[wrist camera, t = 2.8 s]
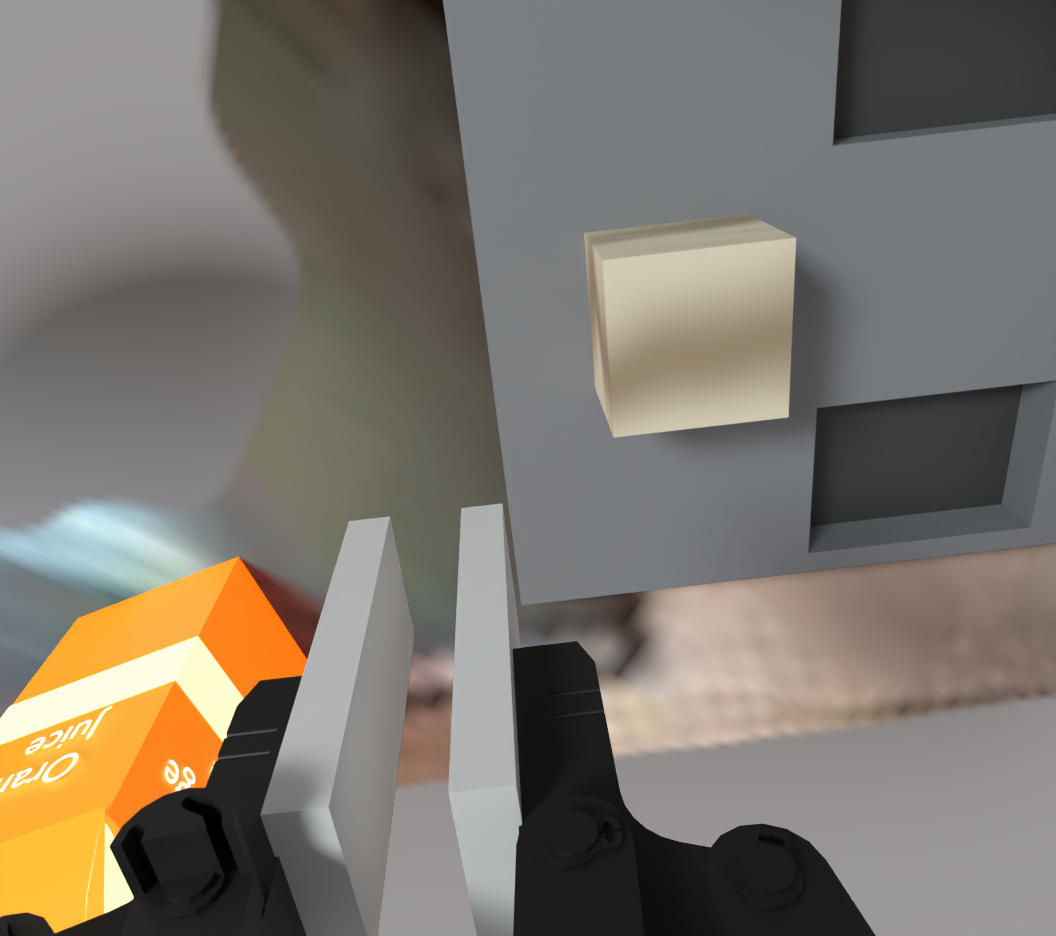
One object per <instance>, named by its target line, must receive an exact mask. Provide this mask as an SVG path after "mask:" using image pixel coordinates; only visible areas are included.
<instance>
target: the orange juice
mask: <svg viewBox="0 0 1056 936" xmlns="http://www.w3.org/2000/svg"><path fill="white" fill-rule="evenodd" d="M306 662H307V659H306V657H305V656H304V654H303V653H302V651H301V650H300V648H299V647H298V645H297V644H296V642H295V641H294V639H293V638H292V636H291V635H290V633H289V632H288V630H287V629H286V627H285V626H284V624H283V623H282V621H281V620H280V618H279V617H278V615H277V614H276V612H275V611H274V609H273V608H272V606H271V605H270V603H269V602H268V600H267V599H266V597H265V596H264V594H263V592H262V591H261V589H260V588H259V586H258V585H257V583H256V582H255V580H254V579H253V577H252V576H251V574H250V573H249V571H248V570H247V568H246V567H245V565H244V564H243V562H242V561H241V559H240V558H239V557H237V558H234V559H231V560H229V561H226V562H224V563H221V564H218V565H216V566H213V567H211V568H208V569H205V570H203V571H200V572H198V573H195V574H192V575H190V576H187V577H185V578H182V579H179V580H177V581H174V582H171V583H169V584H166V585H164V586H161V587H158V588H156V589H153V590H151V591H148V592H145V593H143V594H140V595H138V596H135V597H132V598H130V599H127V600H125V601H122V602H119V603H117V604H114V605H112V606H109V607H106V608H104V609H101V610H99V611H96V612H93V613H91V614H88V615H85V616H83V617H80V618H78V619H77V620H76V621H75V623H74V624H73V625H72V627H71V628H70V629H69V631H68V632H67V633H66V635H65V636H64V637H63V639H62V640H61V641H60V643H59V644H58V645H57V647H56V648H55V649H54V651H53V652H52V653H51V654H50V656H49V657H48V658H47V660H46V661H45V662H44V664H43V665H42V666H41V668H40V669H39V670H38V672H37V673H36V674H35V676H34V677H33V678H32V680H31V681H30V682H29V684H28V685H27V686H26V688H25V689H24V690H23V692H22V693H21V694H20V696H19V697H18V698H17V699H16V701H15V702H14V703H13V705H12V706H10V707H9V708H8V709H7V710H6V712H5V713H4V714H3V716H2V717H1V718H0V917H1V916H3V915H10V914H17V913H24V912H28V913H31V914H35V915H38V916H41V917H44V918H45V919H46V921H47V922H48V924H49V925H50V927H51V928H52V930H53V931H54V933H57V932H59V931H62V930H64V929H67V928H69V927H72V926H74V925H77V924H79V923H82V922H84V921H87V920H89V919H92V918H94V917H97V916H99V915H102V914H104V913H107V912H109V911H112V910H114V909H116V908H118V907H120V906H122V905H124V904H126V903H128V902H130V901H131V900H133V898H134V897H133V894H132V892H131V890H130V888H129V886H128V884H127V882H126V880H125V878H124V876H123V874H122V872H121V870H120V867H119V865H118V863H117V861H116V859H115V857H114V855H113V853H112V851H111V849H110V847H109V846H110V845H111V843H112V841H113V840H114V838H115V837H116V835H117V833H118V832H119V830H120V829H121V827H122V826H123V825H124V824H125V823H126V822H127V821H128V820H129V819H130V818H131V817H132V816H134V815H135V814H136V813H137V812H138V811H139V810H140V809H141V808H143V807H144V806H146V805H148V804H150V803H151V802H153V801H155V800H156V799H158V798H160V797H162V796H163V795H166V794H169V793H173V792H176V791H179V790H182V789H186V788H205V786H206V784H207V781H208V779H209V776H210V773H211V771H212V768H213V766H214V763H215V761H218V753H219V751H220V748H221V745H222V743H223V740H224V738H227V734H226V733H227V730H228V728H229V725H230V723H231V720H232V717H233V715H234V712H235V710H236V707H237V705H238V704H239V703H240V702H241V701H242V700H243V699H244V697H245V696H246V695H247V694H248V693H249V692H250V691H251V690H252V689H253V687H254V686H255V685H256V684H257V683H258V682H259V681H260V680H268V679H277V678H285V677H294V676H302V675H303V672H304V669H305V665H306Z"/></svg>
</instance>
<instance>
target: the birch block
mask: <svg viewBox="0 0 1056 936" xmlns="http://www.w3.org/2000/svg"><path fill="white" fill-rule="evenodd" d="M584 240H585V254H586V269H587V283H588V297H589V311H590V326H591V340H592V354H593V368H594V383H595V389H596V392H597V394H598V397H599V400H600V403H601V405H602V408H603V411H604V413H605V416H606V419H607V421H608V424H609V427H610V429H611V432H612V435H613V437H614V438H615V437H623V436H632V435H641V434H649V433H658V432H667V431H675V430H684V429H692V428H701V427H710V426H718V425H727V424H736V423H744V422H753V421H761V420H770V419H779V418H787V417H788V416H789V393H790V370H791V347H792V324H793V301H794V278H795V255H796V237H793V236H791V235H789V234H787V233H785V232H783V231H781V230H779V229H777V228H775V227H773V226H771V225H769V224H767V223H765V222H763V221H761V220H759V219H757V218H755V217H753V216H751V215H749V214H743V215H734V216H726V217H717V218H708V219H700V220H691V221H682V222H674V223H665V224H656V225H648V226H639V227H630V228H622V229H613V230H604V231H596V232H587V233H584Z"/></svg>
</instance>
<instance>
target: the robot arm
mask: <svg viewBox="0 0 1056 936" xmlns="http://www.w3.org/2000/svg"><path fill="white" fill-rule="evenodd" d="M413 642H414V632H413V627H412V622H411V617H410V612H409V607H408V602H407V598H406V593H405V588H404V583H403V578H402V573H401V568H400V563H399V559H398V554H397V549H396V544H395V539H394V534H393V529H392V524H391V520H390V517H382V518H374V519H365V520H357V521H349V523H348V526H347V530H346V533H345V536H344V540H343V543H342V546H341V550H340V553H339V556H338V560H337V563H336V566H335V569H334V573H333V576H332V579H331V583H330V586H329V589H328V593H327V596H326V599H325V603H324V606H323V609H322V612H321V616H320V619H319V622H318V626H317V629H316V632H315V636H314V639H313V642H312V646H311V649H310V652H309V655H308V659H307V662H306V665H305V669H304V672H303V675H302V676H294V677H285V678H277V679H268V680H260V681H259V682H258V683H257V684H256V685H255V686H254V687H253V689H252V690H251V691H250V692H249V693H248V694H247V695H246V696H245V697H244V699H243V700H242V701H241V702H240V703H239V704H238V705H237V707H236V710H235V712H234V715H233V717H232V720H231V723H230V725H229V728H228V730H227V733H226V734H227V738H224V740H223V743H222V745H221V748H220V751H219V753H218V761H215V763H214V766H213V768H212V771H211V773H210V776H209V779H208V781H207V784H206V786H205V788H186V789H182V790H179V791H176V792H173V793H169V794H166V795H163V796H162V797H160V798H158V799H156V800H155V801H153V802H151V803H150V804H148V805H146V806H144V807H143V808H141V809H140V810H139V811H138V812H137V813H136V814H135V815H134V816H132V817H131V818H130V819H129V820H128V821H127V822H126V823H125V824H124V825H123V826H122V827H121V829H120V830H119V832H118V833H117V835H116V837H115V838H114V840H113V841H112V843H111V845H110V846H109V847H110V849H111V851H112V853H113V855H114V857H115V859H116V861H117V863H118V865H119V867H120V870H121V872H122V874H123V876H124V878H125V880H126V882H127V884H128V886H129V888H130V890H131V892H132V894H133V897H134V898H133V900H131V901H130V902H128V903H126V904H124V905H122V906H120V907H118V908H116V909H114V910H112V911H109V912H107V913H104V914H102V915H99V916H97V917H94V918H92V919H89V920H87V921H84V922H82V923H79V924H77V925H74V926H72V927H69V928H67V929H64V930H62V931H59V932H57V933H54V931H53V930H52V928H51V927H50V925H49V924H48V922H47V921H46V919H45V918H44V917H41V916H38V915H35V914H31V913H28V912H24V913H17V914H10V915H3V916H1V917H0V936H378V929H379V921H380V913H381V905H382V897H383V887H384V880H385V872H386V864H387V855H388V847H389V838H390V831H391V823H392V814H393V806H394V797H395V790H396V782H397V773H398V765H399V757H400V749H401V740H402V732H403V724H404V716H405V707H406V699H407V691H408V683H409V675H410V666H411V658H412V650H413ZM448 795H449V800H450V805H451V810H452V815H453V820H454V825H455V830H456V835H457V840H458V844H459V849H460V854H461V859H462V864H463V869H464V874H465V879H466V883H467V889H468V893H469V898H470V903H471V908H472V913H473V918H474V923H475V928H476V932H477V936H875V934H874V933H873V931H872V930H871V928H870V927H869V925H868V923H867V922H866V920H865V919H864V917H863V916H862V914H861V913H860V911H859V910H858V908H857V907H856V905H855V904H854V902H853V901H852V899H851V898H850V896H849V894H848V893H847V891H846V890H845V888H844V887H843V886H842V884H841V882H840V881H839V879H838V878H837V876H836V875H835V873H834V871H833V870H832V868H831V867H830V865H829V864H828V862H827V861H826V859H825V858H824V857H823V856H822V855H821V854H820V853H819V852H818V851H817V850H816V849H815V848H814V847H813V845H812V844H811V843H810V842H809V841H807V840H805V839H803V838H802V837H800V836H798V835H796V834H795V833H793V832H791V831H789V830H787V829H784V828H780V827H775V826H771V825H766V824H754V825H744V826H738V827H736V828H735V829H732V830H730V831H728V832H726V833H724V834H722V835H721V836H720V837H719V838H718V839H717V840H716V842H715V843H714V844H713V846H712V847H711V848H710V847H705V846H699V845H694V844H688V843H683V842H678V841H674V840H670V839H667V838H664V837H661V836H659V835H657V834H656V833H654V832H652V831H650V830H648V829H646V828H645V827H644V826H642V824H640V823H639V822H638V821H637V820H636V819H635V818H633V816H632V815H631V813H630V812H629V811H628V809H627V808H626V806H625V804H624V802H623V799H622V796H621V794H620V789H619V784H618V779H617V774H616V769H615V765H614V758H613V753H612V748H611V743H610V738H609V733H608V728H607V723H606V718H605V714H604V707H603V702H602V697H601V692H600V687H599V682H598V677H597V672H596V667H595V662H594V661H593V659H592V658H591V657H590V656H589V655H588V654H587V652H586V651H585V650H584V649H583V648H582V647H581V646H580V644H579V643H578V642H577V641H575V642H567V643H558V644H550V645H541V646H532V647H524V648H520V643H519V628H518V618H517V611H516V603H515V596H514V588H513V581H512V573H511V566H510V558H509V551H508V543H507V536H506V528H505V521H504V513H503V506H502V504H494V505H486V506H477V507H469V508H461V527H460V549H459V570H458V591H457V613H456V634H455V655H454V677H453V698H452V719H451V741H450V762H449V783H448Z"/></svg>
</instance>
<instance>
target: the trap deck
mask: <svg viewBox="0 0 1056 936" xmlns="http://www.w3.org/2000/svg"><path fill="white" fill-rule="evenodd" d="M443 3H444V11H445V19H446V26H447V34H448V42H449V50H450V57H451V65H452V73H453V81H454V88H455V96H456V104H457V111H458V119H459V127H460V135H461V142H462V150H463V158H464V165H465V173H466V181H467V189H468V196H469V204H470V212H471V220H472V227H473V235H474V243H475V250H476V258H477V266H478V274H479V281H480V289H481V297H482V305H483V312H484V320H485V328H486V335H487V343H488V351H489V359H490V366H491V374H492V382H493V389H494V397H495V405H496V413H497V420H498V428H499V436H500V443H501V451H502V459H503V467H504V474H505V482H506V490H507V498H508V505H509V513H510V521H511V528H512V536H513V544H514V552H515V559H516V567H517V575H518V583H519V590H520V598H521V605H528V604H537V603H546V602H554V601H563V600H571V599H580V598H589V597H597V596H606V595H614V594H623V593H632V592H640V591H649V590H657V589H666V588H675V587H683V586H692V585H700V584H709V583H718V582H726V581H735V580H743V579H752V578H761V577H769V576H778V575H786V574H795V573H803V572H812V571H821V570H829V569H838V568H846V567H855V566H864V565H872V564H881V563H889V562H898V561H907V560H915V559H924V558H932V557H941V556H950V555H958V554H967V553H975V552H984V551H993V550H1001V549H1010V548H1018V547H1027V546H1035V545H1044V544H1053V543H1056V0H443ZM743 214H749V215H751V216H753V217H755V218H757V219H759V220H761V221H763V222H765V223H767V224H769V225H771V226H773V227H775V228H777V229H779V230H781V231H783V232H785V233H787V234H789V235H791V236H793V237H796V255H795V278H794V301H793V324H792V347H791V370H790V393H789V416H788V417H787V418H779V419H770V420H761V421H753V422H744V423H736V424H727V425H718V426H710V427H701V428H692V429H684V430H675V431H667V432H658V433H649V434H641V435H632V436H623V437H615V438H614V437H613V435H612V432H611V429H610V427H609V424H608V421H607V419H606V416H605V413H604V411H603V408H602V405H601V403H600V400H599V397H598V394H597V392H596V389H595V383H594V368H593V354H592V340H591V326H590V311H589V297H588V283H587V269H586V254H585V240H584V233H587V232H596V231H604V230H613V229H622V228H630V227H639V226H648V225H656V224H665V223H674V222H682V221H691V220H700V219H708V218H717V217H726V216H734V215H743Z"/></svg>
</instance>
